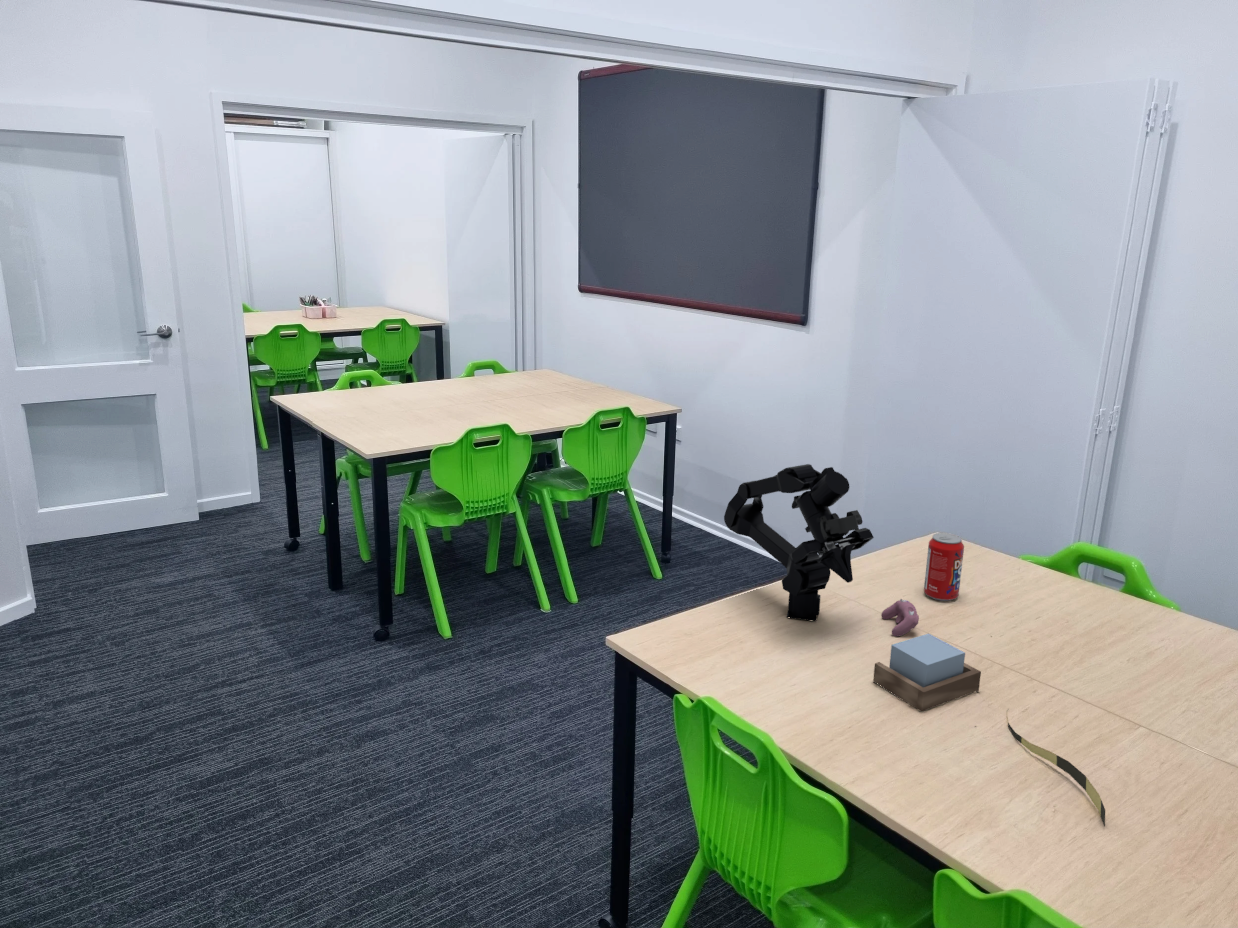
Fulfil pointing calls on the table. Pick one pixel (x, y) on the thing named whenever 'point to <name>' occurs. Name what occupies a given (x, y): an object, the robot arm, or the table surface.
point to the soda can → (944, 566)
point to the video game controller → (902, 616)
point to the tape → (1068, 768)
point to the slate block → (926, 660)
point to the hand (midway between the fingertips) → (850, 581)
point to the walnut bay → (931, 693)
